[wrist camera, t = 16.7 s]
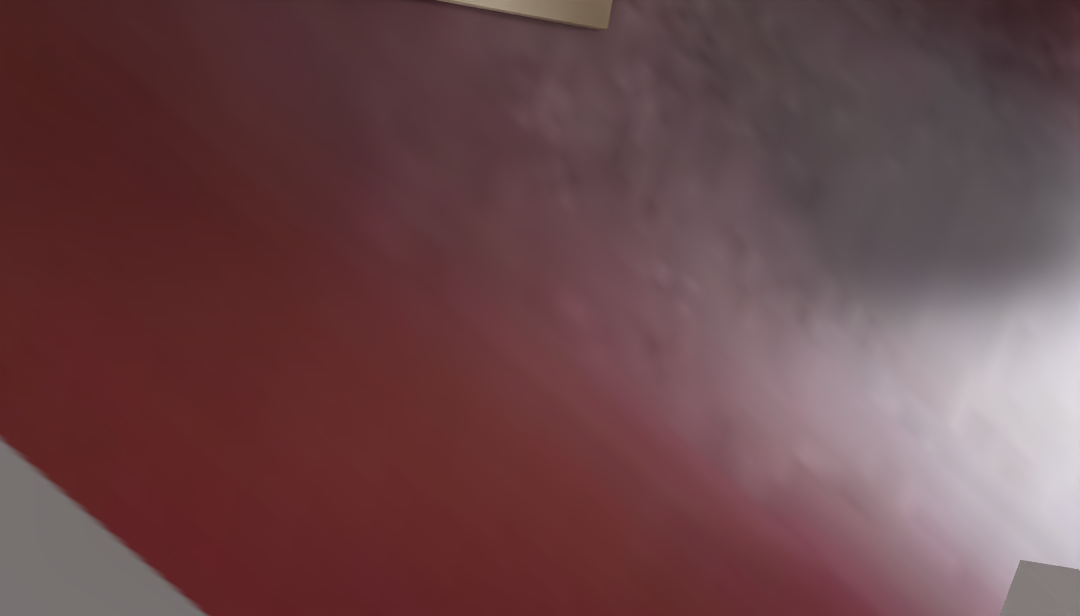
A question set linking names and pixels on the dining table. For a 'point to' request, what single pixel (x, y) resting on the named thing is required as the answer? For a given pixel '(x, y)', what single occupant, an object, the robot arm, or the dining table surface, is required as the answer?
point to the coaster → (551, 10)
